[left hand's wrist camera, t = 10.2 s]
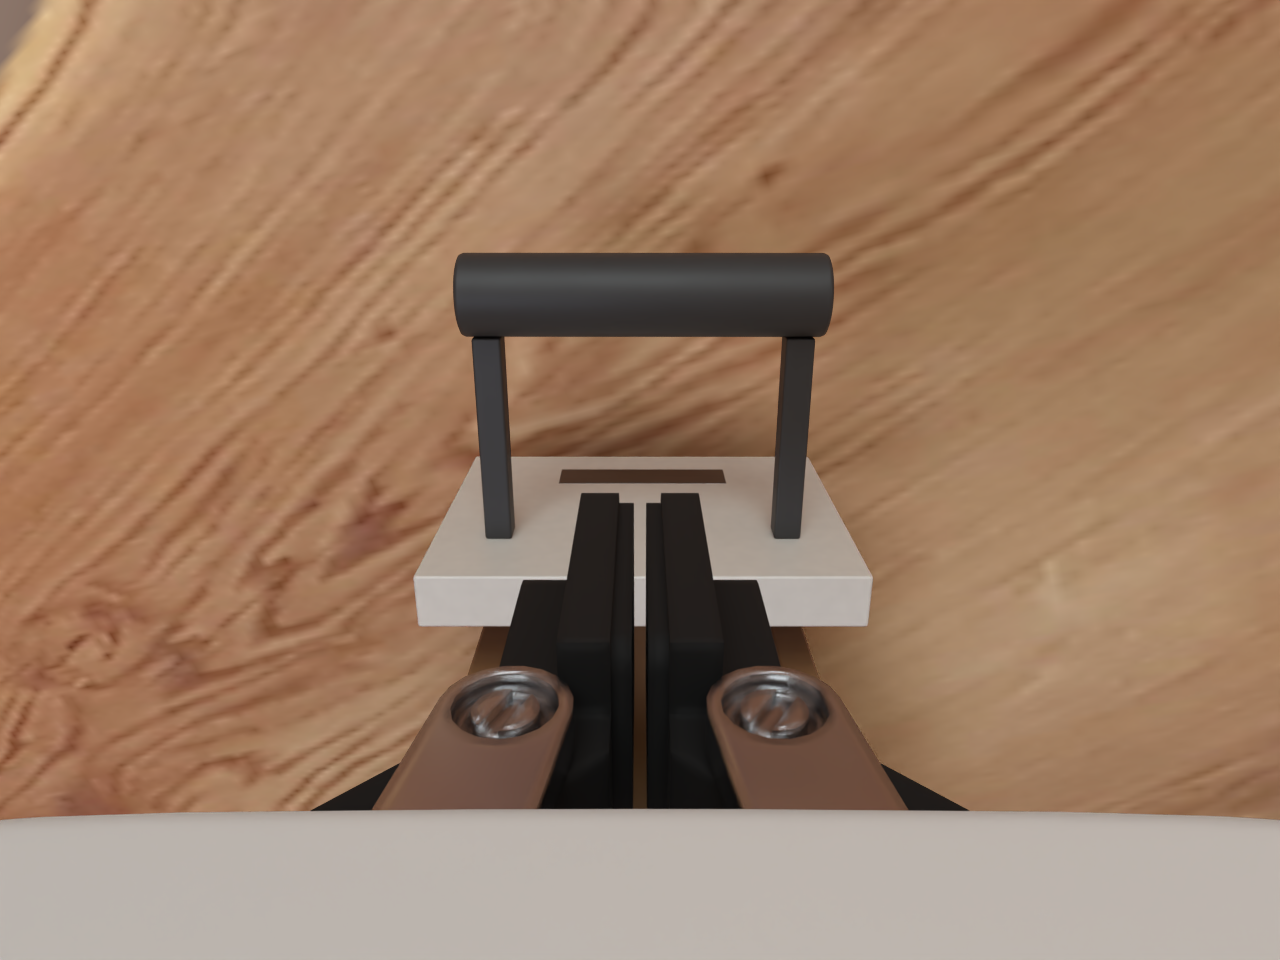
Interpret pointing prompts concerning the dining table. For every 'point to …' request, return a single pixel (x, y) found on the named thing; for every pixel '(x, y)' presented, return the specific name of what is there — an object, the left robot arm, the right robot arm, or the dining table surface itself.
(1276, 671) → the dining table surface
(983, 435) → the dining table surface
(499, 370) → the drawer
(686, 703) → the left robot arm
